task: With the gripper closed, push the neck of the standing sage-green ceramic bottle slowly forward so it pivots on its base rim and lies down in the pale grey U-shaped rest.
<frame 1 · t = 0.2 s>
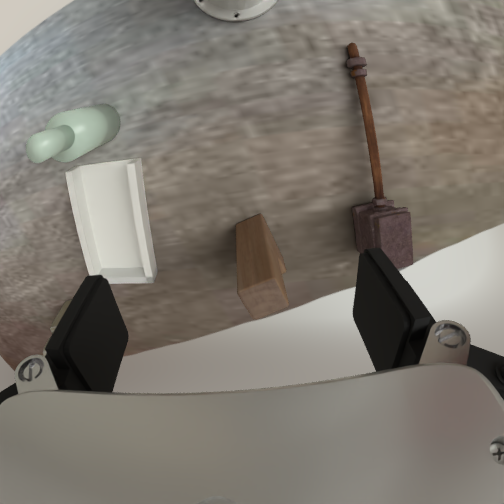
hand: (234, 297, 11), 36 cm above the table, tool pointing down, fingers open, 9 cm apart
padlock: (80, 314, 57), on the table
u rest: (115, 220, 48), on the table
bottle: (101, 123, 40), on the table
hammer: (364, 149, 45), on the table
wooden block: (259, 240, 52), on the table
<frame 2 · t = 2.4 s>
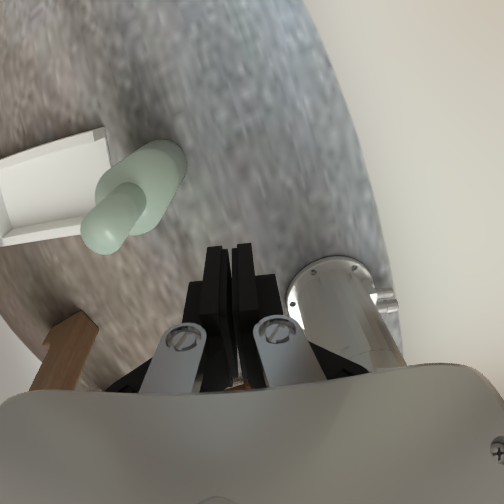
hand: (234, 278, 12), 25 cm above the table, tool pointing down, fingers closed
u rest: (48, 187, 34), on the table
bottle: (161, 165, 34), on the table
wooden block: (75, 327, 45), on the table
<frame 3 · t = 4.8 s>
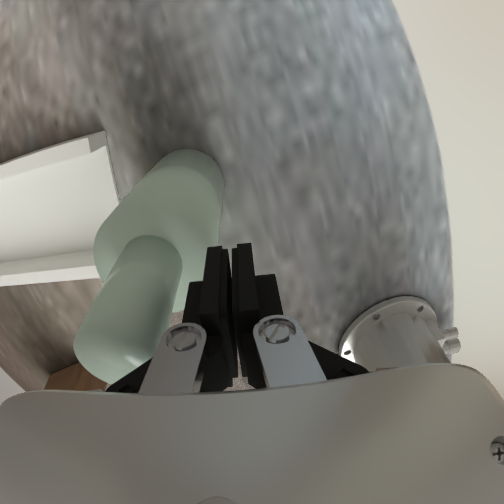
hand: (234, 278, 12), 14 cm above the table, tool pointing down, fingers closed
u rest: (32, 213, 25), on the table
bottle: (187, 185, 25), on the table, touching gripper
wooden block: (78, 375, 36), on the table
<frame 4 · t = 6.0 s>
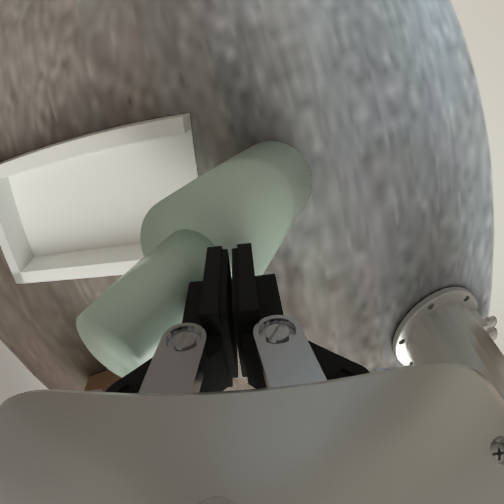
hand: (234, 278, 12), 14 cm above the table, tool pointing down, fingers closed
u rest: (91, 199, 25), on the table
bottle: (273, 179, 24), point 1 cm above the table, tilted 24°
wooden block: (122, 376, 36), on the table
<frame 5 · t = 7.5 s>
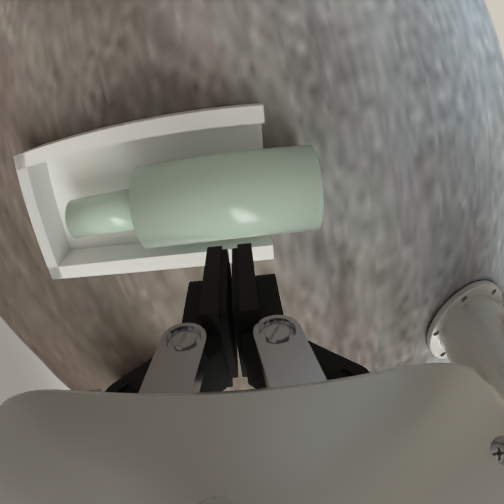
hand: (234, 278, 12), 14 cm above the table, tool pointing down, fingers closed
u rest: (144, 188, 25), on the table
bottle: (312, 187, 22), point 3 cm above the table, tilted 90°, touching u rest
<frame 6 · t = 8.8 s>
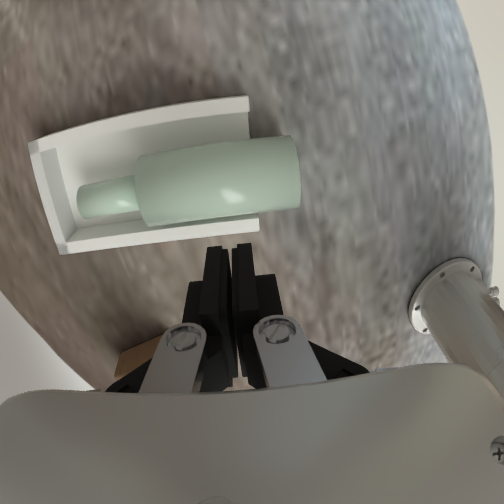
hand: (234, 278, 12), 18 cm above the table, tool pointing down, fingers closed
u rest: (145, 171, 28), on the table
bottle: (292, 171, 25), point 3 cm above the table, tilted 90°, touching u rest
wooden block: (154, 350, 39), on the table
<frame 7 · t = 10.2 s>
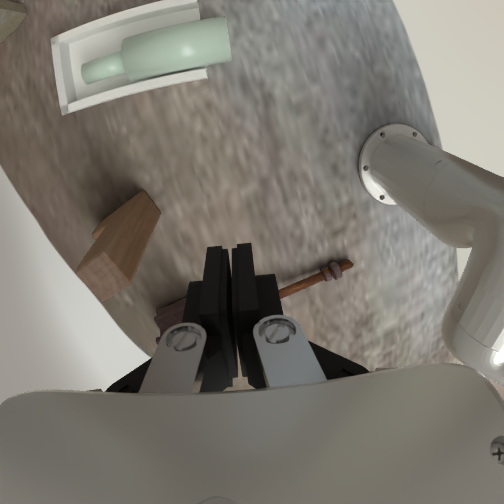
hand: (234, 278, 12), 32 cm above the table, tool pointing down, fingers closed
padlock: (7, 26, 27), on the table
u rest: (129, 54, 33), on the table
bottle: (228, 38, 31), point 3 cm above the table, tilted 90°, touching u rest
hammer: (254, 289, 53), on the table
wooden block: (130, 216, 45), on the table
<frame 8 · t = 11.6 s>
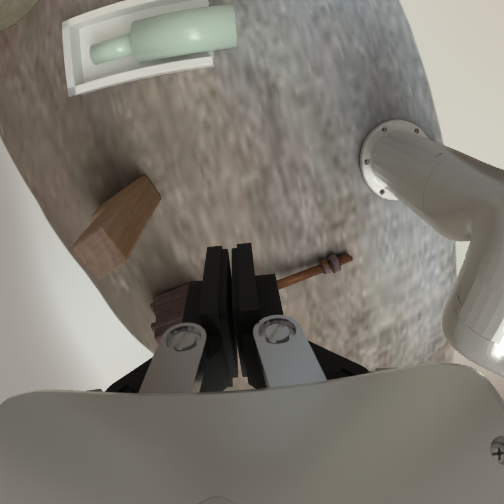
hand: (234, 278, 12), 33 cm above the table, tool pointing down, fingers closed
padlock: (20, 9, 27), on the table
u rest: (138, 40, 33), on the table
bottle: (235, 25, 31), point 3 cm above the table, tilted 90°, touching u rest
hammer: (252, 280, 53), on the table
wooden block: (131, 201, 45), on the table
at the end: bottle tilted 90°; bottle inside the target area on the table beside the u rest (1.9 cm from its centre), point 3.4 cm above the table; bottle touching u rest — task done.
